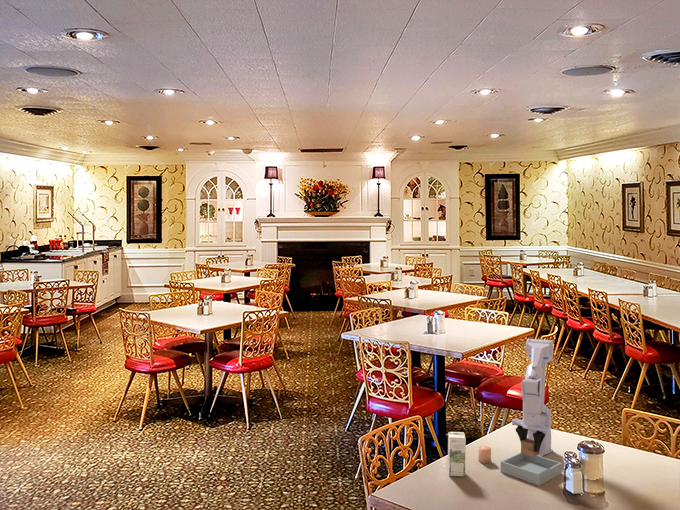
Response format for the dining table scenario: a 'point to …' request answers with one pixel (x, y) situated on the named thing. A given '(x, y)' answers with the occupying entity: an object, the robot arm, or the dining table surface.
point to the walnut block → (528, 447)
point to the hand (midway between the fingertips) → (530, 449)
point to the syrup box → (456, 454)
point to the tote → (531, 468)
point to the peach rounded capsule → (484, 455)
